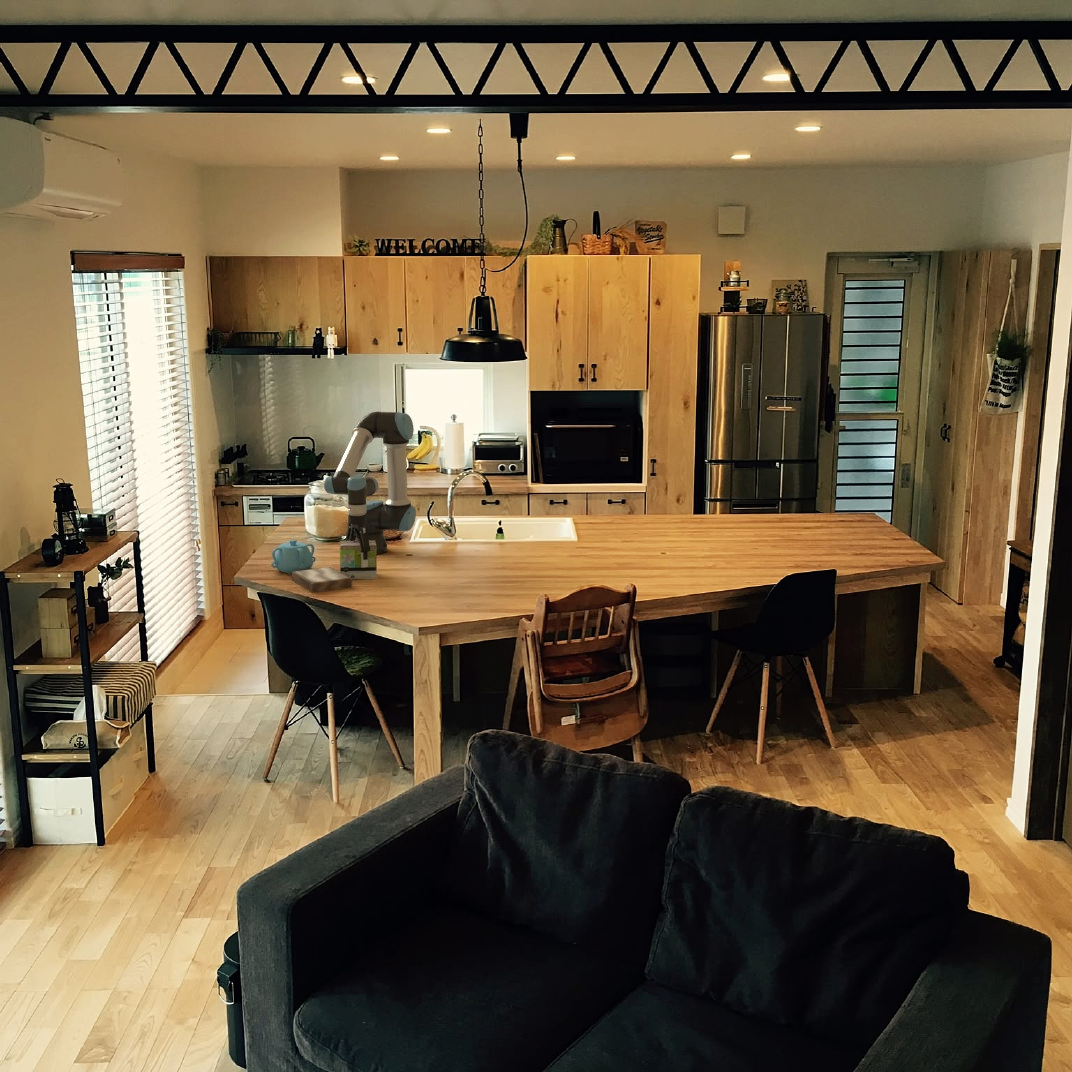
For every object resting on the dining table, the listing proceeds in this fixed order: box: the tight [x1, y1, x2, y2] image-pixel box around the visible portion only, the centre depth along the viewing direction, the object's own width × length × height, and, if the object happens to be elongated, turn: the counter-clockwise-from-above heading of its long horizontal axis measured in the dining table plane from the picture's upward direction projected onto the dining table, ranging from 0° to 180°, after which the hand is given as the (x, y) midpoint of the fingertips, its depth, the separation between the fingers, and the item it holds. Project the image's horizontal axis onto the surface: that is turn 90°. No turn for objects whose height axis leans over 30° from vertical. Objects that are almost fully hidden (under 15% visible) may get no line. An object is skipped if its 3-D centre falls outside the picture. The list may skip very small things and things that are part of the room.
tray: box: [291, 566, 353, 594], centre depth 465 cm, size 17×22×4 cm
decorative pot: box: [270, 539, 316, 575], centre depth 485 cm, size 16×16×14 cm
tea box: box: [339, 540, 378, 580], centre depth 477 cm, size 15×10×15 cm, turn 101°
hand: (357, 563), depth 477 cm, fingers open, 13 cm apart
